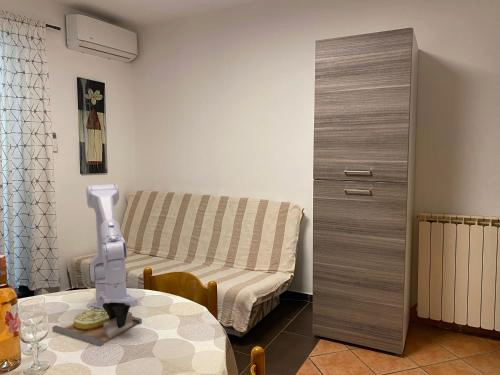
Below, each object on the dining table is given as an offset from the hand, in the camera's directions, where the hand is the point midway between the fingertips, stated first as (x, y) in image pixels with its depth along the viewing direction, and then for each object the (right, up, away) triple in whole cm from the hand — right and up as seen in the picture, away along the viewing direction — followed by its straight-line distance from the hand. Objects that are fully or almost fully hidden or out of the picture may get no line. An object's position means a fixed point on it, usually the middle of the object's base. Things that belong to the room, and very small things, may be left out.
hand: (118, 325), depth 110 cm
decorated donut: (-10, -2, +6) cm, 12 cm away
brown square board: (-7, -2, +4) cm, 8 cm away
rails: (-8, -2, +4) cm, 9 cm away
